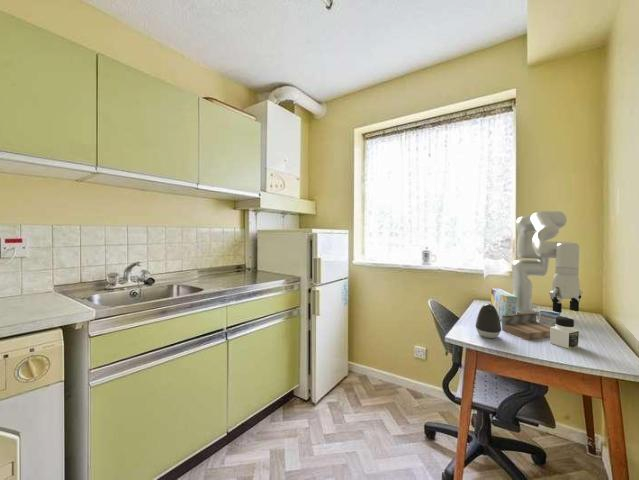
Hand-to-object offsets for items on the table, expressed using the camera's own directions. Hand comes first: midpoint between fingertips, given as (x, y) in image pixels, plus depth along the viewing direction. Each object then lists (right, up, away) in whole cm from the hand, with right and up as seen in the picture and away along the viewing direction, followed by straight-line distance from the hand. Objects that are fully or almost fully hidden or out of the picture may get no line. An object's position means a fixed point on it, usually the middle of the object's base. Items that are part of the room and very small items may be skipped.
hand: (565, 311), depth 123 cm
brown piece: (-3, -14, +15) cm, 21 cm away
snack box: (-3, -14, +37) cm, 40 cm away
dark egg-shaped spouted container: (-27, -14, +10) cm, 33 cm away
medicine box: (+11, -14, +22) cm, 29 cm away
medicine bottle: (0, -15, +1) cm, 15 cm away
